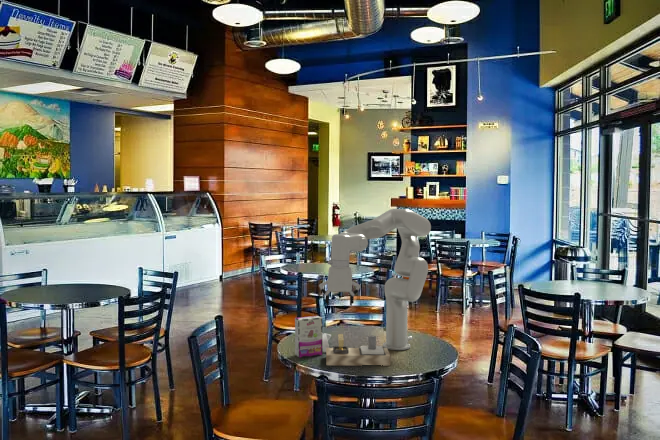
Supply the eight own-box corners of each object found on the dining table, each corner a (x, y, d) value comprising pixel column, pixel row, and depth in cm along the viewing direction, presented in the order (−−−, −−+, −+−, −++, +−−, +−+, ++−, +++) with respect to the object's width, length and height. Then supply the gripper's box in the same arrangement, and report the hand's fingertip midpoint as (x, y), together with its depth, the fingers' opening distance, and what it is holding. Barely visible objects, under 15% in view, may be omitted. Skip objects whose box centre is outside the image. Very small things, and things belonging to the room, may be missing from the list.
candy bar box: (318, 352, 260) (318, 315, 259) (322, 355, 255) (323, 317, 255) (294, 355, 255) (294, 317, 255) (298, 358, 251) (298, 319, 250)
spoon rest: (304, 340, 282) (304, 325, 281) (328, 339, 284) (328, 324, 283) (311, 354, 258) (311, 337, 258) (338, 352, 260) (338, 336, 260)
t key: (335, 348, 251) (335, 334, 251) (345, 348, 251) (345, 334, 251) (336, 354, 241) (336, 339, 241) (346, 355, 241) (346, 339, 241)
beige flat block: (326, 365, 240) (326, 351, 240) (326, 357, 252) (326, 344, 252) (390, 365, 241) (390, 352, 240) (387, 357, 253) (387, 344, 252)
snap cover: (361, 354, 242) (362, 339, 242) (360, 348, 251) (360, 334, 251) (383, 354, 242) (384, 339, 242) (381, 348, 251) (381, 334, 251)
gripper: (319, 264, 242) (318, 306, 242) (361, 265, 242) (360, 307, 243) (319, 262, 249) (318, 303, 250) (360, 263, 250) (359, 303, 250)
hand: (339, 305), depth 246 cm, fingers open, 9 cm apart
